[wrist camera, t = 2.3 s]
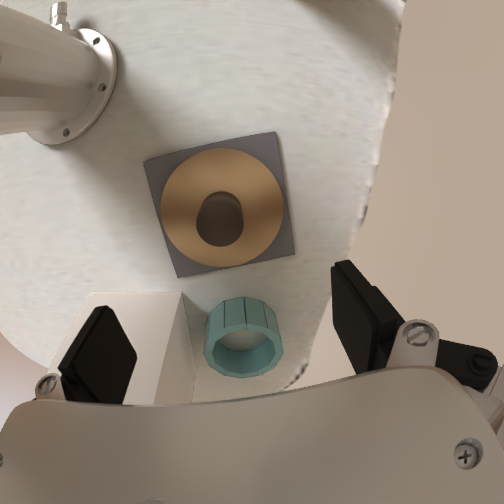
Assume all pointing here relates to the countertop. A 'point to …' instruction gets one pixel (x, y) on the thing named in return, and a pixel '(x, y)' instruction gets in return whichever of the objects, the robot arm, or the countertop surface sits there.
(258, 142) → the mat
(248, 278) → the countertop surface
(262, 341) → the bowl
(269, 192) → the lid
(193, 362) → the milk
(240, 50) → the countertop surface
